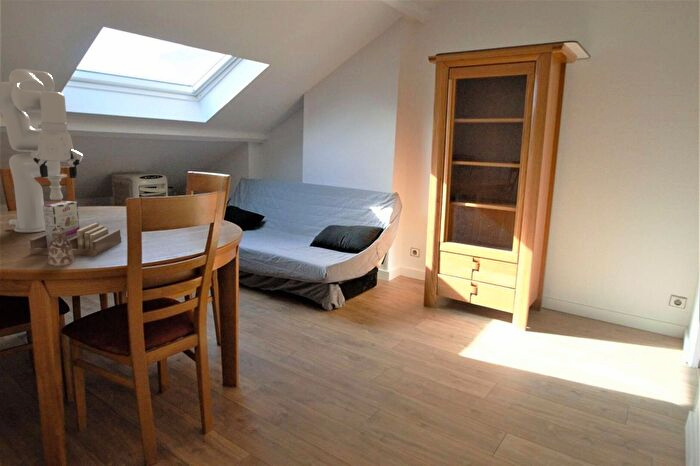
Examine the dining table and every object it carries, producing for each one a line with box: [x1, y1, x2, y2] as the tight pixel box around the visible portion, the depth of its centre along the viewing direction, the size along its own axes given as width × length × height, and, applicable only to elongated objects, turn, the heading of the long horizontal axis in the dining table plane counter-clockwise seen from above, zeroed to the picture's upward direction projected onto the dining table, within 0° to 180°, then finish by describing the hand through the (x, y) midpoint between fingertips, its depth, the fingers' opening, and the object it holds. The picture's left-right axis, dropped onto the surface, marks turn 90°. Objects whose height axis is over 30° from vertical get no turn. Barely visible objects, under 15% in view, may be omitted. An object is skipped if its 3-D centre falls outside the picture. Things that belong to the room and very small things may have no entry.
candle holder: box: [43, 173, 68, 204], centre depth 225 cm, size 12×12×20 cm
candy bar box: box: [43, 200, 81, 248], centre depth 171 cm, size 11×5×16 cm, turn 168°
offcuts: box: [77, 222, 109, 250], centre depth 172 cm, size 5×14×8 cm, turn 5°
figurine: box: [47, 226, 75, 267], centre depth 152 cm, size 7×7×12 cm
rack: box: [29, 228, 122, 257], centre depth 172 cm, size 22×22×5 cm
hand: (58, 177), depth 167 cm, fingers open, 9 cm apart
